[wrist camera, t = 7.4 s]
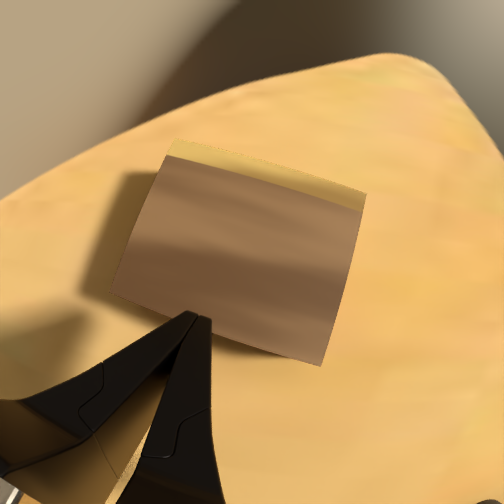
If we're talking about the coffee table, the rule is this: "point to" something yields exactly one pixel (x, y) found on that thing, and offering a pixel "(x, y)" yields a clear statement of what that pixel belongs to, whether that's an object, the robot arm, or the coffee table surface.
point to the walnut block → (243, 249)
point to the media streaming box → (489, 502)
